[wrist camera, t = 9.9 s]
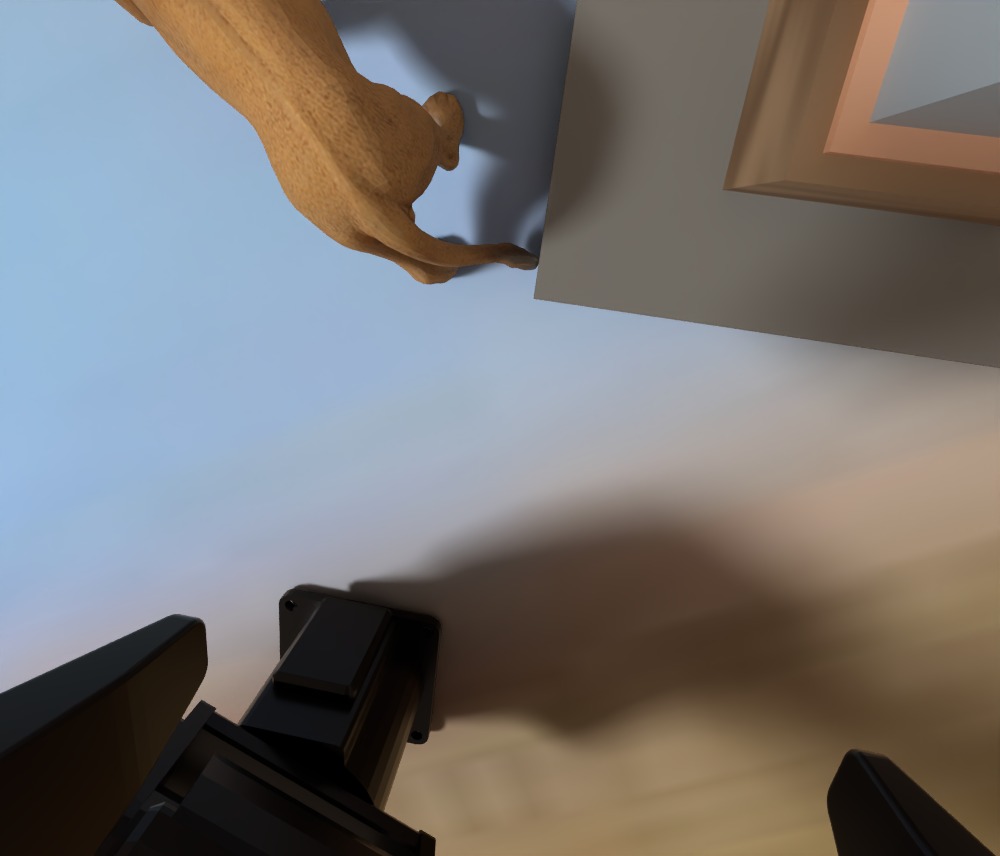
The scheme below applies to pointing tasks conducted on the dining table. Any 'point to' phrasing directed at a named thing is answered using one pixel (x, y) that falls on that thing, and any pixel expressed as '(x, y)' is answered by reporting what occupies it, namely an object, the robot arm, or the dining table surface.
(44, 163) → the dining table surface
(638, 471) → the dining table surface
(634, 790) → the dining table surface
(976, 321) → the tower base
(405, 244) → the lion figurine
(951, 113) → the slate-gray cube
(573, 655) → the dining table surface
